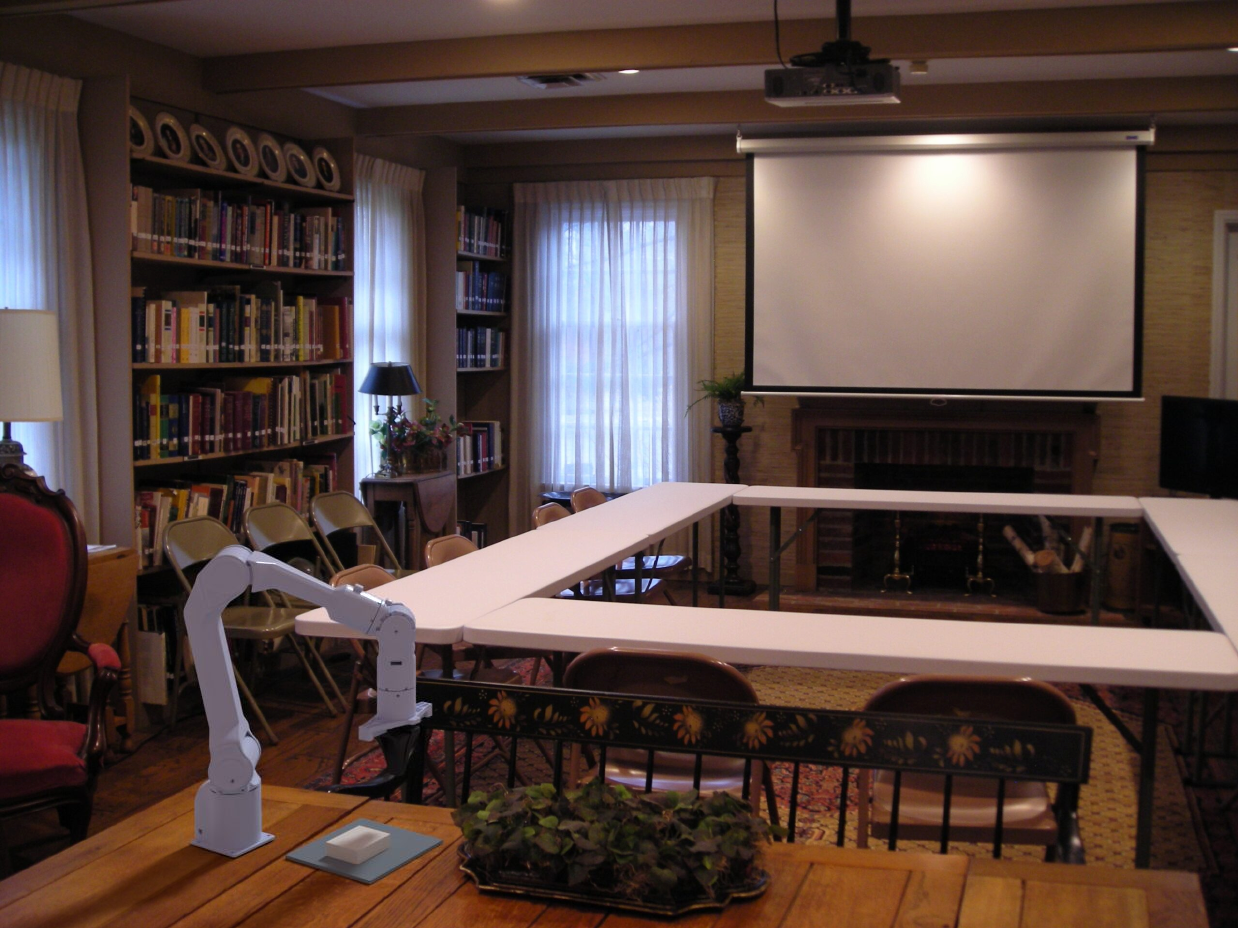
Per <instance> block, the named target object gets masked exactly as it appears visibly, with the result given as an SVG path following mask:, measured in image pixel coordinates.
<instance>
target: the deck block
mask: <svg viewBox="0 0 1238 928" xmlns="http://www.w3.org/2000/svg"><path fill="white" fill-rule="evenodd" d="M388 848H390V834H389V833H385V832H381V831H378V830H374V829H371V828H367V827H363V826H360V825H359V826H357V827H355V828H353V829H351V830H349V831H347V832H345V833H343V834H341V835H339V836H337V837H335V838H333V839H331V840H329V841H327V842H326V856H330V857H333V858H336V859H340V860H343V861H347V862H350V863H353V864H357V865H358V864H360V863H362V862H364V861H366V860H368V859H369V858H371V857H373V856H375V855H377V854H379V853H381V852H382V851H384V850H386V849H388Z"/></svg>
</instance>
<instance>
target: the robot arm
mask: <svg viewBox="0 0 1238 928" xmlns="http://www.w3.org/2000/svg"><path fill="white" fill-rule="evenodd" d="M249 585H251V593H257V592H262V591H266V590H272V589H275V590H278V591H280V592H283V593H285V594H288V595H291V596H294V597H296V598H298V599H301V600H304V601H307V602H310V603H312V604H314V605H317V606H319V607H322V608H325V610H326V612H327V614H328V617H329V620H331V621H333V622H335V623H338V624H340V625H343V626H345V627H347V628H349V629H351V630H354V631H356V632H358V633H361V634H363V635H365V636H368V637H375V639H376V640H377V642H378V655H377V658H376V666H377V667H376V687H377V688H376V704H377V705H376V714H375V715H374V716H373V717H372V718H370V719H369V720H368V721H366V722H365V723H363V724H362V725H359V726H358V740H360V741H365V742H371V741H373V740H374V739H375V740H376V742H377V743H378V745H379V747H380V749H381V751H382V754H383V757H384V760H385V764H386V768H387V771H388V774H389V775H392V776H395V777H401V776H403V775H405V772H406V769H407V766H408V762H409V759H410V758H409V757H410V754H411V750H412V749H413V746H414V744H415V741H416V740H417V737H418V736H419V734H420V733H421V729H420V728H421V727H420V726H419V725H416V724H418V723H421V719H423V718H424V717H425V718H430V717H431V716H433V703H429V702H424V701H421V702H418V703H417V700H416V699H417V698H416V697H417V695H416V692H417V690H416V689H417V688H416V687H417V686H416V685H417V678H416V676H417V675H416V674H417V673H416V672H417V670H416V667H417V666H416V665H417V664H416V663H417V662H416V659H417V658H416V655H415V651H416V644H415V640H416V638H417V633H418V631H417V629H416V627H417V624H416V618H415V615H414V613H413V612H412V610H411V609H410V608H409V607H407V606H406V605H404V604H403V603H402V602H394V601H393V600H392V599H390V598H388V597H387V598H386V599H382V598H380V597H377V596H376V595H373V594H372V593H369V592H367V591H364V586H363V585H361V584H359V583H355V584H354V585H351V584H349V583H346V584H343V585H340V586H336V587H335V586H332V585H330V584H328V583H326V582H324V581H322V580H319V579H318V578H316V577H314V576H312V575H310V574H308V573H305V572H304V571H301V570H300V569H298V568H295V567H293V566H292V565H289V564H287V563H285V562H283V561H281V560H279V559H276V558H275V557H273V556H271V555H268V554H267V553H264V552H261V551H257V550H253V551H252V550H251V549H250V548H248V547H246V546H244V545H240V544H231V545H227V546H225V547H223V548H222V549H220V550H219V552H217V553H216V554H215V555H214V557H213V558H212V559H211V560H210V561H209V562H208V563H207V564H206V565H205V566H204V567H203V569H201V570H200V571H199V573H198V574H197V576H196V579H195V582H194V584H193V587H192V589H191V592H190V594H189V597H188V599H187V601H186V603H185V605H184V609H183V618H184V623H185V624H184V625H185V627H186V631H187V635H188V639H189V646H190V649H191V654H192V657H193V662H194V667H195V671H196V674H197V680H198V684H199V688H200V692H201V696H202V697H201V698H202V700H203V701H202V702H203V707H204V711H205V715H206V719H207V723H208V727H209V733H208V734H209V737H208V739H209V740H208V743H209V745H208V748H209V749H208V750H209V753H210V763H209V765H208V769H207V776H208V780H206V781H204V783H202V784H201V785H200V787H199V788H198V790H197V791H196V794H195V797H194V804H193V806H194V809H193V810H194V838H193V839H191V840H190V842H189V843H190V844H191V846H192V845H193V846H196V847H199V848H203V849H206V850H208V851H211V852H215V853H218V854H220V855H221V854H222V855H225V856H228V857H231V858H237V857H239V856H241V855H243V854H244V855H245V853H248V852H250V851H252V850H254V849H257V848H258V847H260V846H262V845H265V844H266V843H269V842H271V841H273V840H275V837H276V836H275V835H273V834H271V833H267V832H263V831H262V824H263V823H262V778H261V777H260V776H259V774H258V773H257V771H256V766H257V764H258V762H259V760H260V759H261V755H262V748H261V747H262V746H261V744H260V742H259V740H258V739H257V738H256V737H255V735H253V732H251V730H250V725H249V722H248V720H247V719H246V717H245V716H244V712H243V709H242V703H241V699H240V695H239V691H238V687H237V682H236V681H237V680H236V678H235V673H234V667H233V664H232V660H231V655H230V650H229V646H228V642H227V638H226V633H225V629H224V625H223V620H222V613H223V611H224V610H225V608H226V607H227V605H229V603H230V602H231V601H233V600H234V599H236V598H237V597H239V596H240V595H241V594H243V593H244V592H245V591H246V590H247V588H248V586H249Z"/></svg>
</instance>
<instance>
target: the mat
mask: <svg viewBox="0 0 1238 928" xmlns="http://www.w3.org/2000/svg"><path fill="white" fill-rule="evenodd" d="M359 825H360V826H363V827H367V828H371V829H374V830H378V831H381V832H385V833H389V834H390V848H388V849H386V850H384V851H382V852H381V853H379V854H377V855H375V856H373V857H371V858H369V859H368V860H366V861H364V862H362V863H360V864H358V865H357V864H353V863H350V862H347V861H343V860H340V859H336V858H333V857H330V856H326V842H327V841H329V840H331V839H333V838H335V837H337V836H339V835H341V834H343V833H345V832H347V831H349V830H351V829H353V828H355V827H357V826H359ZM442 844H444V839H442V838H438V837H433V836H430V835H426V834H423V833H418V832H415V831H411V830H409V829H404V828H400V827H397V826H393V825H390V824H386V823H383V822H379V821H375V820H371V819H367V818H364V817H360V818H358V819H356V820H353V821H352V822H350V823H347V824H345V825H344V826H341V827H340V828H338V829H336V830H334V831H331V832H329V833H328V834H325V835H323V836H321V837H320V838H318V839H315V840H313V841H311V842H309V843H306V844H305V845H303V846H301V847H299V848H297V849H295V850H293V851H291V852H289V853H287V854H285V859H287V860H289V861H293V862H295V863H298V864H299V863H300V864H302V865H306V866H309V867H311V868H316V869H319V870H322V871H324V872H328V873H332V874H336V875H339V876H342V877H345V878H349V879H351V880H355V881H358V882H361V883H365V884H368V885H372V884H374V883H375V882H377V881H379V880H381V879H382V878H384V877H386V876H388V875H389V874H391V873H393V872H395V871H396V870H398V869H400V868H402V867H403V866H405V865H408V863H410V862H412V861H414V860H416V859H417V858H419V857H422V856H424V855H425V854H427V853H428V852H430V851H432V850H434V849H435V848H437V847H439V846H440V845H442Z"/></svg>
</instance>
